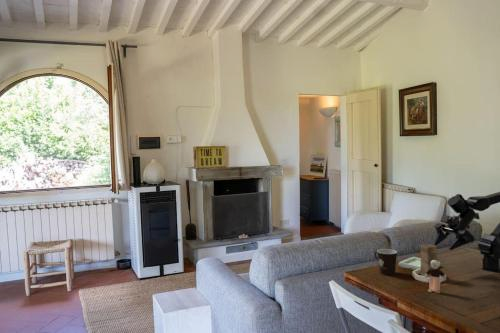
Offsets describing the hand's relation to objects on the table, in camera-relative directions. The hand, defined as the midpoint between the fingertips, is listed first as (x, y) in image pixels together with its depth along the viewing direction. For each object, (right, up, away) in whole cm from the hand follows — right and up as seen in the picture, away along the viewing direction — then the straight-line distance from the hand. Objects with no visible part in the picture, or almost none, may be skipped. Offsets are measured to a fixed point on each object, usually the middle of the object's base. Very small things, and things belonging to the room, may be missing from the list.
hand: (442, 247), depth 175 cm
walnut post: (-6, -13, -1) cm, 15 cm away
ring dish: (-6, -13, -1) cm, 15 cm away
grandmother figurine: (-11, -14, -17) cm, 25 cm away
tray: (-4, -12, +15) cm, 20 cm away
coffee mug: (-21, -13, +9) cm, 27 cm away
